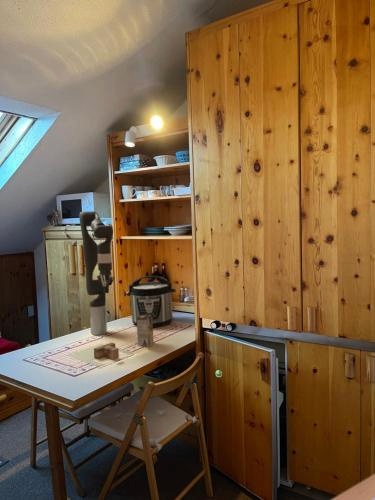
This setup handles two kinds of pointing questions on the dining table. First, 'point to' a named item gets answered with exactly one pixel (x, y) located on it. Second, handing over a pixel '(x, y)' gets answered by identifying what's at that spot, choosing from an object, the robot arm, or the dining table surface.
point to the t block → (106, 351)
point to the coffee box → (145, 330)
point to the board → (88, 357)
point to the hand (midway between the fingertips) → (106, 292)
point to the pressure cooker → (151, 300)
